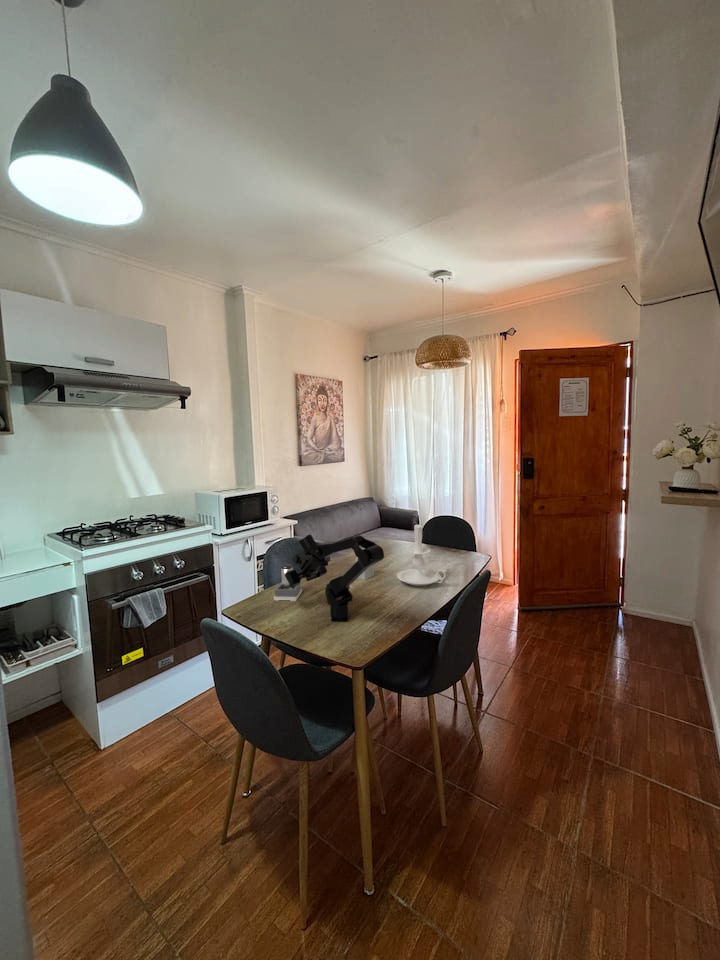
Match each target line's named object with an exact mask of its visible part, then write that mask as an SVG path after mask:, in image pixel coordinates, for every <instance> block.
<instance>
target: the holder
mask: <svg viewBox="0 0 720 960" xmlns="http://www.w3.org/2000/svg"><path fill="white" fill-rule="evenodd" d="M301 587H302V585H301V582H300V583H299V585H296V586H294V589H282V581H281V582H280V584H279V585H278V586H277V587H276V588H275V589H274V596H273V600H274V601H279V600H290V601H291V602H296V601H297V600H298V599H299V598H300V595H301V594H303V588H301ZM290 601H289V602H290Z"/></svg>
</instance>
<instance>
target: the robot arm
mask: <svg viewBox="0 0 720 960" xmlns="http://www.w3.org/2000/svg"><path fill="white" fill-rule="evenodd" d="M298 545H299V547H300V548H301V549H302V551H301V552H297V553H296V554H294V556H292V562H293V563H294V565H297V564H298V565H299V566H298V569H299V570H301V571H300V572H297V571H296V569H294V568H293V570H290V571H287V572H286V573H285V577H286V579H287V581H288V582H289V586H290V588H291V587H294V586H296V585H299V583H300V584H301V580H303V579H306V582H309V581H312V580H315V579H318V578H321V577H323V576H326V574H327V573H328V569H327V566H329V562H328V559H327V558H329V557H331V556H333V555H335V554H337V553H338V552H342V551H345V550H350V549H352V551H353V552H354V555H355V556H356V558H357V557H358V561H357V562H356V561H355V563H354V564H353V565H352V566H351V567H350V568H348V570H347V571H346V572H345V573H344V574H343V575H340V576H338V577H336V578H333V579H331V580H329V582H328V583H327V584H326V585H325V586H326V587H325V589H324V590H325V592H324V594H325V597H326V598H325V599H326V601H327V604H328V606H329V607H330V609H329V610H330V618H331V619H330V621H331V622H348V621H349V618H350V616H351V613H350V606H349V603H350V602H352V601H353V597H354V596H353V594H352V593H351V591H350V586H351V585H352V584H353V583H354V582H355V581H356V580H357V579H358V577H359V576H360V575H361V574H362V573H363V572H364V571H365V570H366V569H367V568H368V567H370V566H372V565H374V566H375V565H376V564H377V563H380V562H381V561H382V560H384V558H385V553H384V550H383V548H382V546H380V545H379V544H377V543H375V542H374V541H371V540H369V539H367V538H365V537H364V536H362V535H360V534H358V535H353V536H351V537H349V538H346V539H342V540H338V541H325V542H322V543H319V544H317V543H316V541H315V539H314V537H313V535H312V534H306V536H305V537H303V538H302V539H300V540H299V541H298Z"/></svg>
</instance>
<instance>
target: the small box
mask: <svg viewBox="0 0 720 960" xmlns="http://www.w3.org/2000/svg"><path fill="white" fill-rule="evenodd" d="M357 561H358V557H357V556H356V557H355V563H356V562H357ZM374 576H375V564H374V565H372V566H370V567H368V568H367V569H366V570H365V571H364V572H363V573H362V574H361V575H360V576H359V577H358V578H359V580H362V579H363V581H367V580H369V579H371V578H373V577H374ZM358 578H357V579H358Z"/></svg>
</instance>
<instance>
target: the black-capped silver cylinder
mask: <svg viewBox="0 0 720 960" xmlns="http://www.w3.org/2000/svg"><path fill="white" fill-rule="evenodd" d="M293 569H294V567H293V564H291V563H283V564H281V565H280V570H281V582H282V589H294V587H291V588H290V586H289V582H288V581H287V579H286V577H285V573H286V572H287V571H290V570H293Z"/></svg>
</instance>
